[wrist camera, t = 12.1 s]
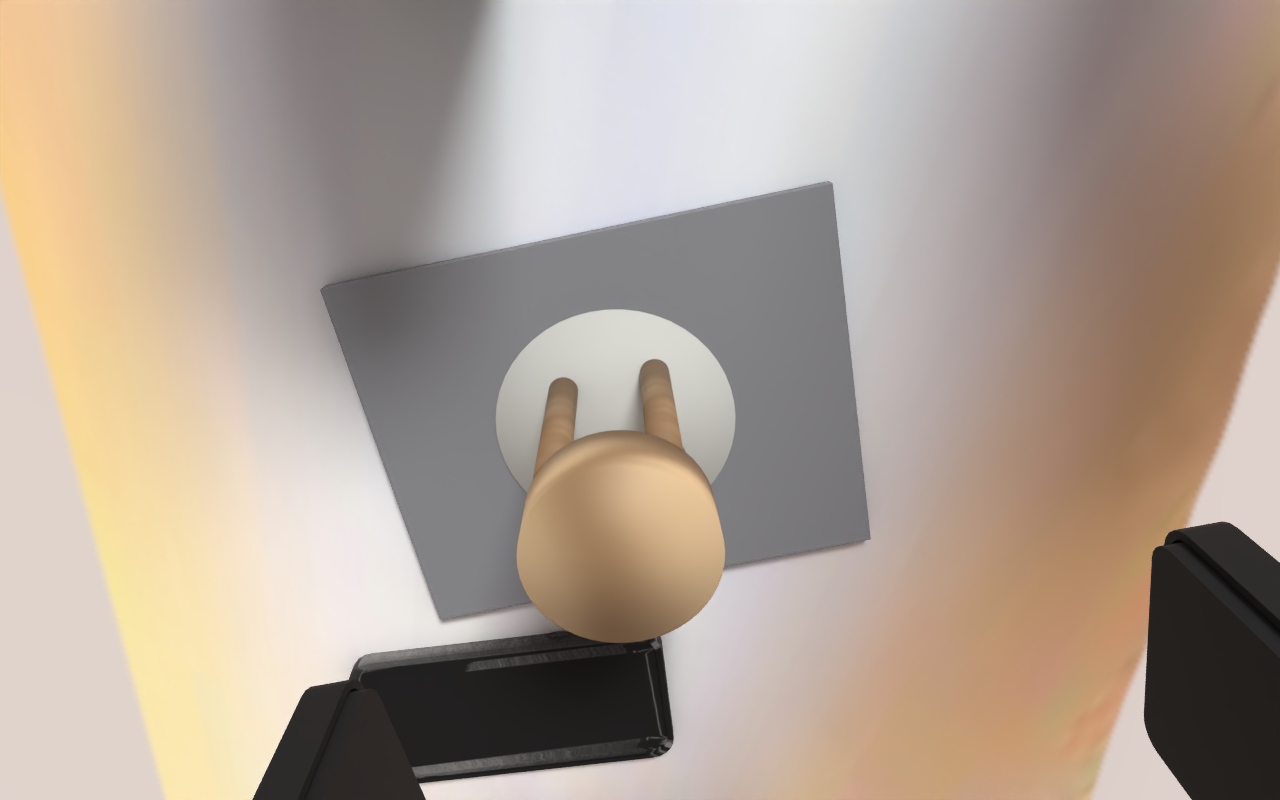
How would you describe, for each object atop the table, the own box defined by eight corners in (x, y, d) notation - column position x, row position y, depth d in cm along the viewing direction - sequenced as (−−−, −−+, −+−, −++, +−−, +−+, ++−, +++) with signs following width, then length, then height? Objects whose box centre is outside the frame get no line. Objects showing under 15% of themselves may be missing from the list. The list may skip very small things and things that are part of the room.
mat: (828, 181, 32) (833, 183, 31) (866, 532, 38) (871, 540, 38) (325, 285, 33) (319, 290, 32) (442, 611, 39) (439, 620, 39)
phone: (675, 754, 42) (381, 787, 42) (674, 737, 43) (387, 770, 43) (659, 629, 39) (342, 665, 39) (658, 614, 40) (349, 649, 40)
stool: (679, 336, 33) (706, 447, 24) (706, 475, 36) (739, 622, 27) (524, 368, 34) (492, 489, 25) (561, 503, 36) (544, 658, 27)
